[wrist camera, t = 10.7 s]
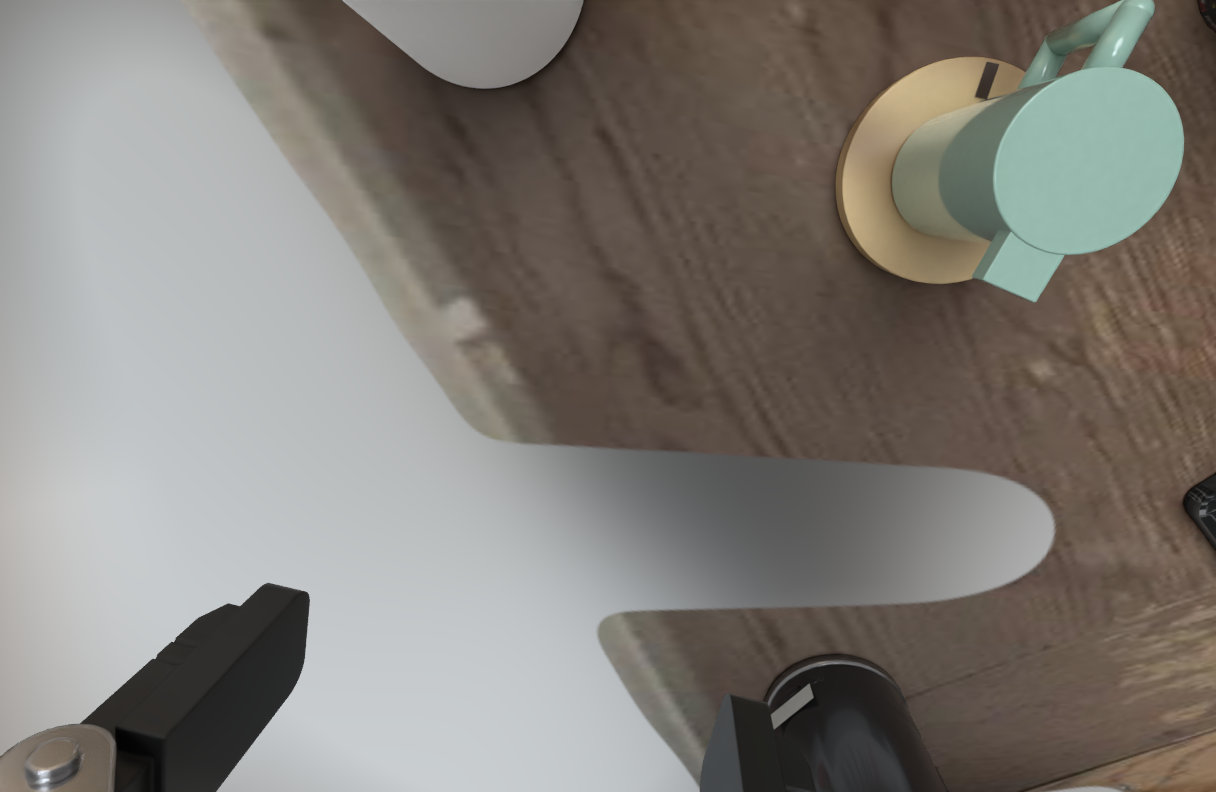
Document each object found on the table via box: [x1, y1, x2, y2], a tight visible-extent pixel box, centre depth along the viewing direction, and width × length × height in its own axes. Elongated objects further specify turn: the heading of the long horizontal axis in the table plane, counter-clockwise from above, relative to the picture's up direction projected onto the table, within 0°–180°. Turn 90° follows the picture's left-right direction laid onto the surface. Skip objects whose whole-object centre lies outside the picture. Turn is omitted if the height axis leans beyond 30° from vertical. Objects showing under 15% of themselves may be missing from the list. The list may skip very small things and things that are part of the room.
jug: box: [892, 0, 1184, 302], centre depth 28 cm, size 11×6×11 cm, turn 158°
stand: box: [835, 57, 1025, 284], centre depth 34 cm, size 11×11×2 cm
